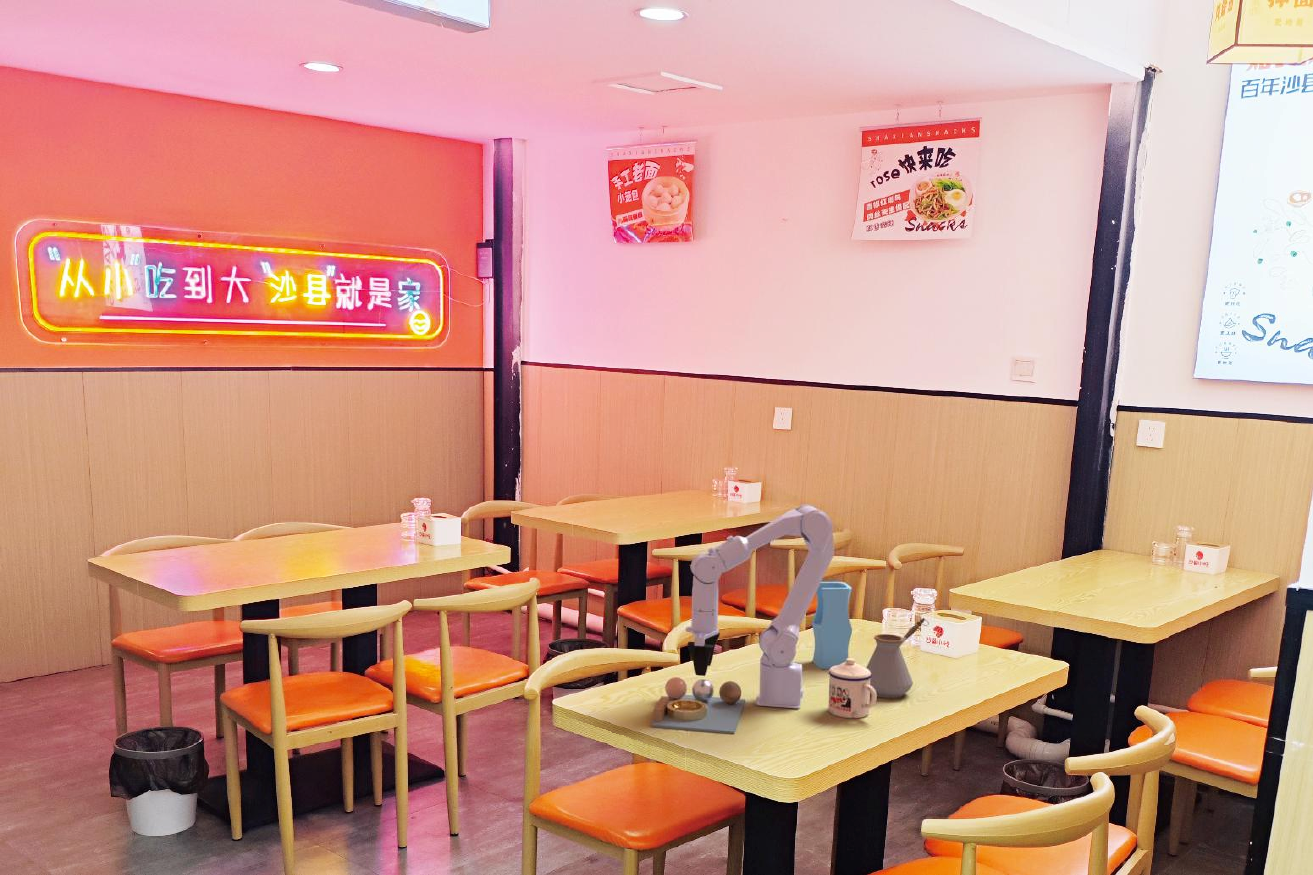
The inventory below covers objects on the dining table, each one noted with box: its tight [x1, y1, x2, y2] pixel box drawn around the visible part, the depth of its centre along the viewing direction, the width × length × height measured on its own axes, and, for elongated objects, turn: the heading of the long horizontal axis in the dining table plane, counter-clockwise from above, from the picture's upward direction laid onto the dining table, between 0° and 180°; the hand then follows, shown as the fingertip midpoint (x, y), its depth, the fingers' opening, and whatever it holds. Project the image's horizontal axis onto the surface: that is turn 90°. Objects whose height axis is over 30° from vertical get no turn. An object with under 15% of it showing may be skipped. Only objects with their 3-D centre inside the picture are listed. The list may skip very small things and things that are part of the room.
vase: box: [811, 581, 853, 670], centre depth 266 cm, size 8×8×20 cm
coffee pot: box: [865, 617, 930, 699], centre depth 248 cm, size 21×12×15 cm, turn 135°
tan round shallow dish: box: [666, 699, 707, 721], centre depth 226 cm, size 8×8×2 cm
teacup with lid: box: [828, 657, 878, 719], centre depth 229 cm, size 12×9×12 cm
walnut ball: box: [718, 680, 742, 704], centre depth 234 cm, size 5×5×5 cm
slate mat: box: [650, 694, 746, 735], centre depth 228 cm, size 17×21×3 cm
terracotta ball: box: [664, 676, 688, 700], centre depth 236 cm, size 5×5×5 cm
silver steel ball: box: [691, 678, 715, 702], centre depth 235 cm, size 5×5×5 cm
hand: (703, 670), depth 234 cm, fingers open, 7 cm apart
